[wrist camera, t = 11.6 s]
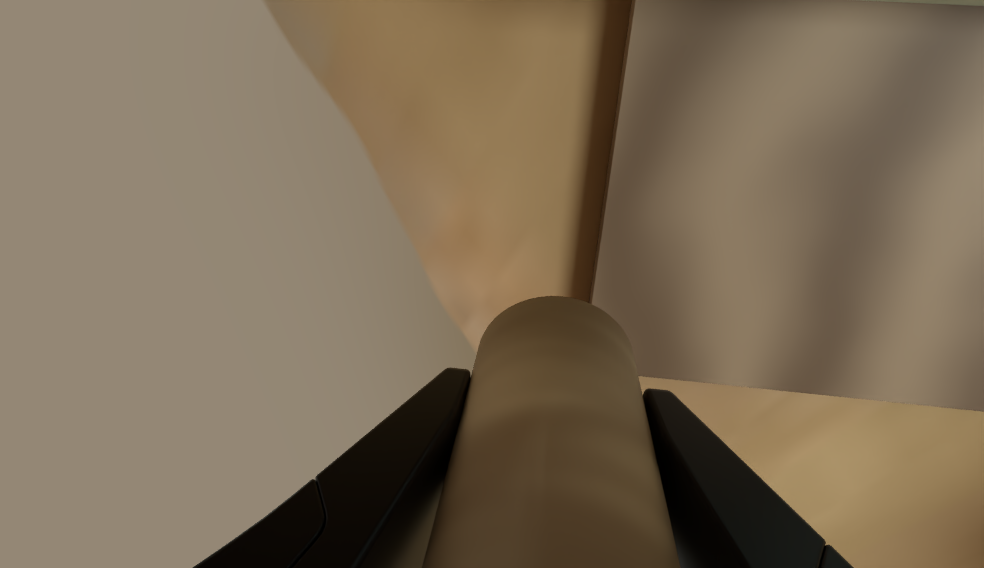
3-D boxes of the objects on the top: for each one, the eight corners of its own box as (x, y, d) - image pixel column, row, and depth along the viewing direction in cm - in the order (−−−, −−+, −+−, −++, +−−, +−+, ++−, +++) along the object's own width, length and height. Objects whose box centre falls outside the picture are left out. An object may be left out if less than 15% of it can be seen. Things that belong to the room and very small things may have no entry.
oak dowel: (646, 304, 9) (766, 688, 4) (621, 432, 11) (682, 849, 5) (479, 288, 9) (373, 630, 4) (475, 416, 11) (392, 797, 5)
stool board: (1573, -409, 11) (1662, -447, 10) (1040, 402, 21) (1062, 419, 20) (686, -386, 13) (695, -417, 12) (581, 356, 23) (582, 370, 22)
